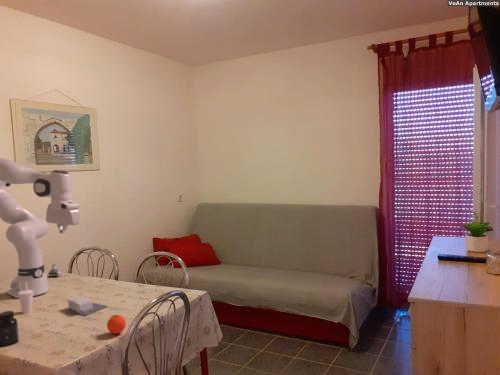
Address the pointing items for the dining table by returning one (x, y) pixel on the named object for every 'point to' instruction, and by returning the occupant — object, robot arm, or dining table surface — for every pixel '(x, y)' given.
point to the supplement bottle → (8, 329)
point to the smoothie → (26, 300)
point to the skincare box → (80, 304)
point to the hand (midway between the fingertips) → (62, 233)
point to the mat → (95, 308)
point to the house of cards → (54, 271)
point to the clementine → (116, 324)
